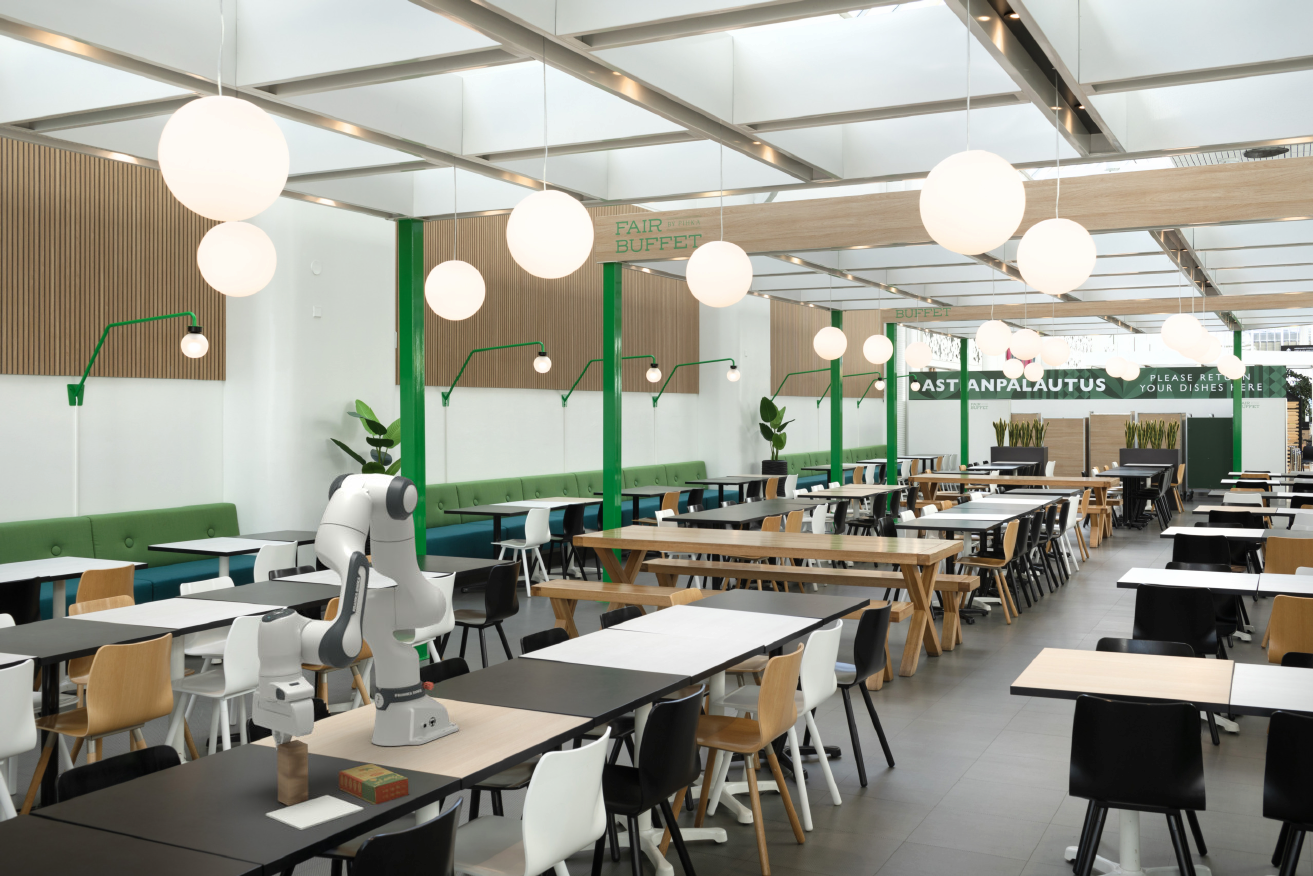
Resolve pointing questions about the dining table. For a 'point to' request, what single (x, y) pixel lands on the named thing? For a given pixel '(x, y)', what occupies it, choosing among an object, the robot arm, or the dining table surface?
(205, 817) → the dining table surface
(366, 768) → the carton
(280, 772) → the block
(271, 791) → the dining table surface
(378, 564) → the robot arm
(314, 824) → the mat
